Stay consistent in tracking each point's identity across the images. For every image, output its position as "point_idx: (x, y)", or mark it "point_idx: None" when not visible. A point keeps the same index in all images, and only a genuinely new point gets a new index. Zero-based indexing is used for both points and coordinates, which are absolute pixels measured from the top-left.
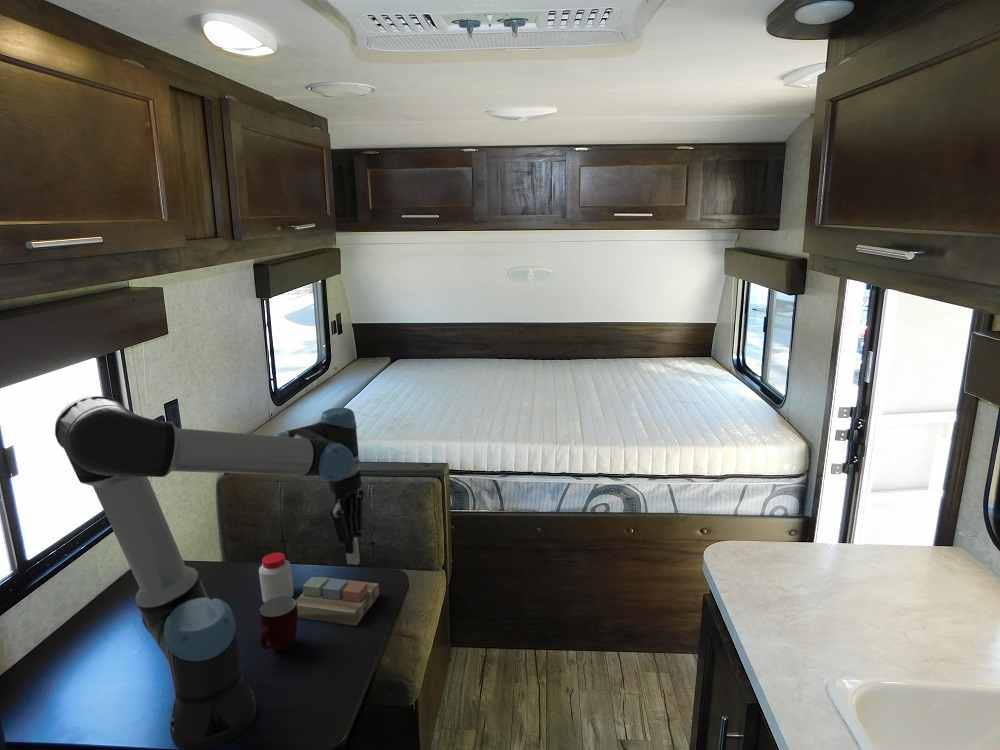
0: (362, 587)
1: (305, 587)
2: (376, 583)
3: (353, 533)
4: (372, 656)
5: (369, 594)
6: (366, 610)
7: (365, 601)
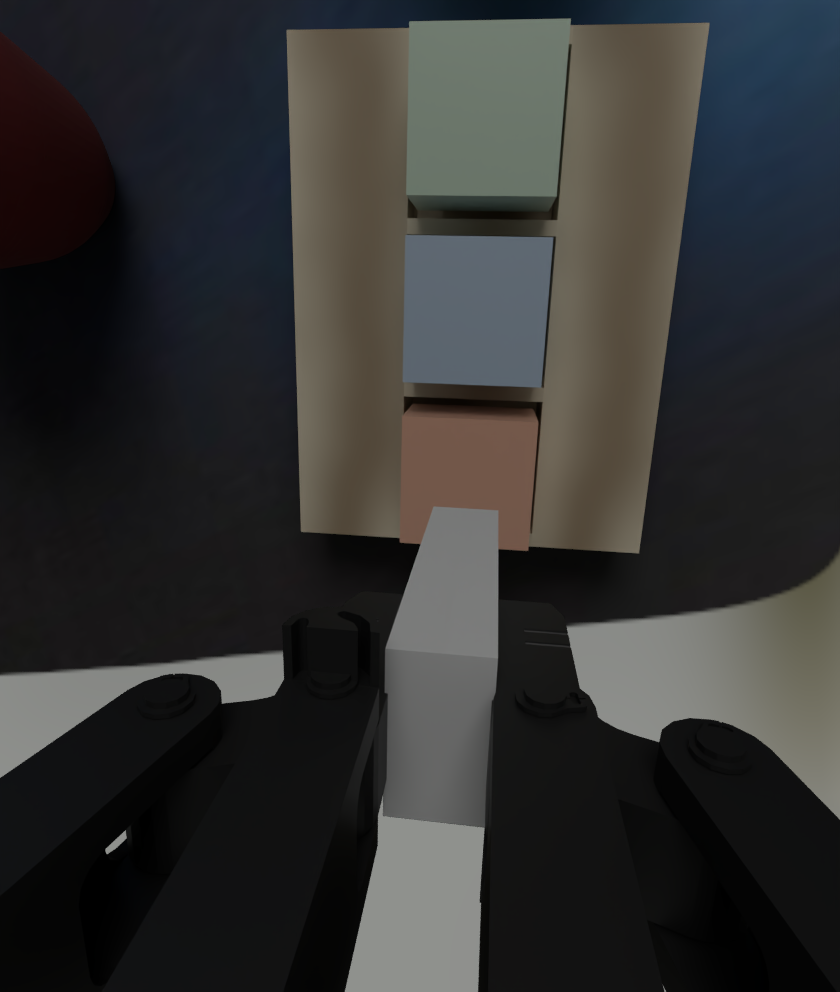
0: None
1: (410, 56)
2: (638, 541)
3: (357, 924)
4: (140, 663)
5: None
6: None
7: None
